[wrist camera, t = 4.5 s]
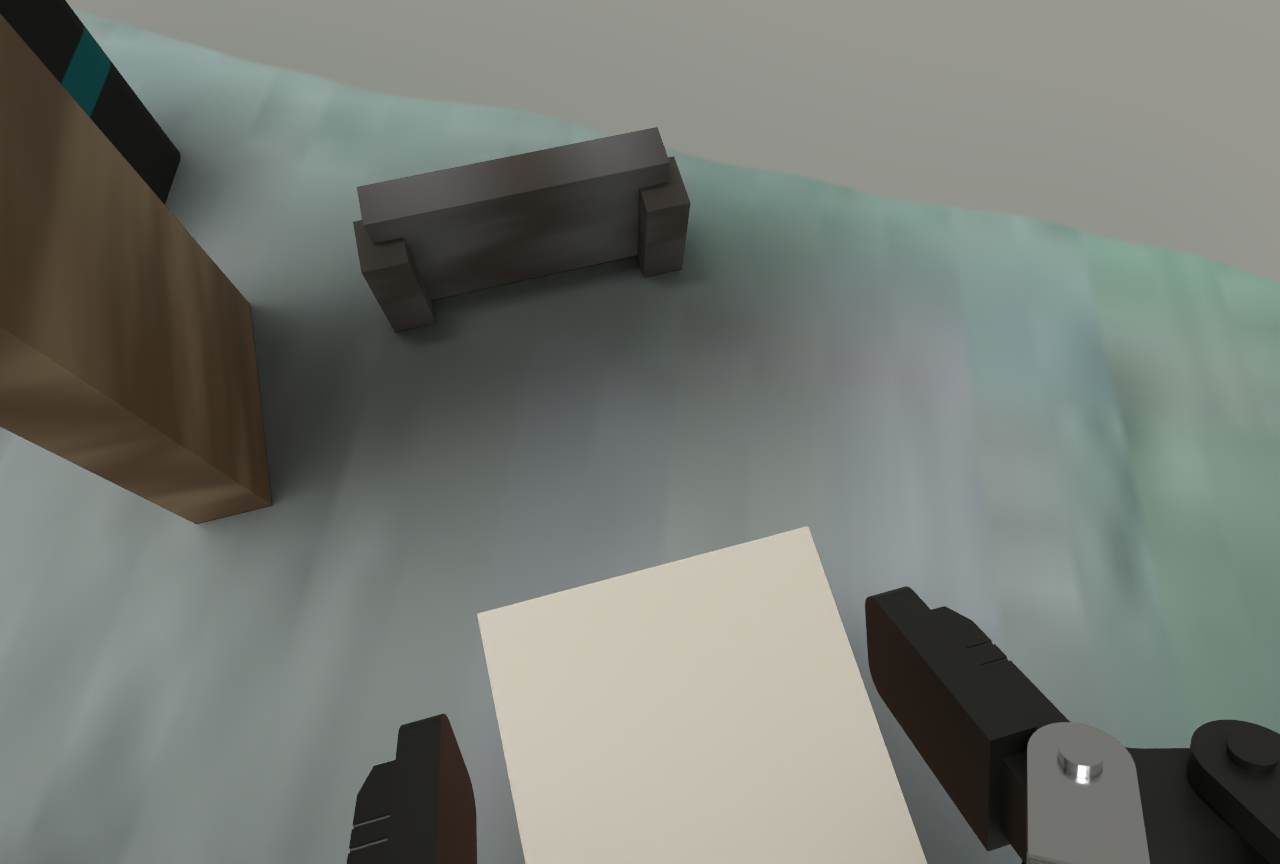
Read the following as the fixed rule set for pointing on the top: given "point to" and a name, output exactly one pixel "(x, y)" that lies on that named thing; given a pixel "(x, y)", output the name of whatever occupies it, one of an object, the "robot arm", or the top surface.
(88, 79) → the surveillance camera
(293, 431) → the top surface
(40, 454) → the top surface
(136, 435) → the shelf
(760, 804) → the tea tin
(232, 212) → the top surface
